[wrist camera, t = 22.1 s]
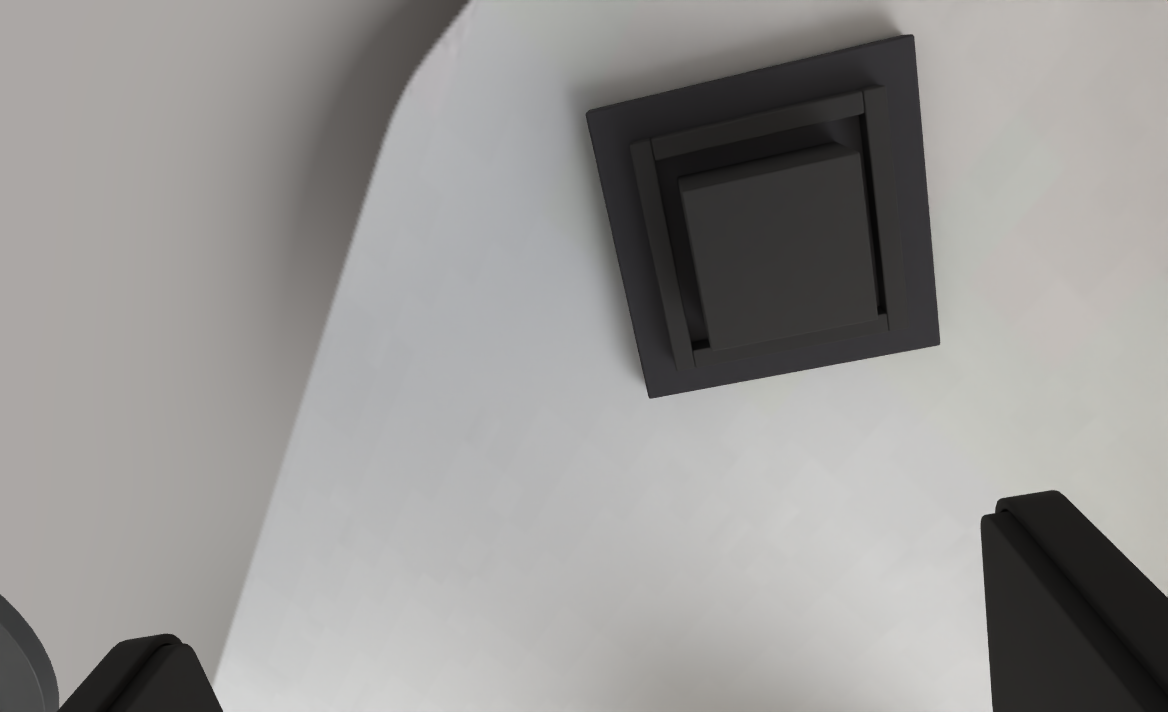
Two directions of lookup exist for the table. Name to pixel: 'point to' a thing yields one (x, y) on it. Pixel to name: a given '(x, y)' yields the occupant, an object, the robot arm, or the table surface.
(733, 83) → the base pad
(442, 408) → the table surface
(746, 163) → the small pad
